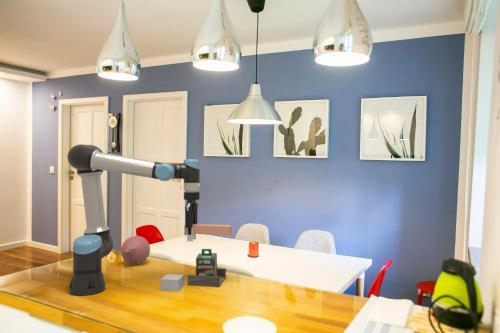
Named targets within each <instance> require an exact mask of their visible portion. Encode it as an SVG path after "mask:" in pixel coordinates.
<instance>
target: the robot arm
mask: <svg viewBox="0 0 500 333" xmlns="http://www.w3.org/2000/svg"><path fill="white" fill-rule="evenodd" d="M67 162H68V163H69V165H70V167H72V168H74V169H76V175H77V176H78V177H80V180H81V186H82V187H81V188H82V197H83V205H84V207H83V208H84V216H85V226H86V228H85V230H84V231H83V235H80V236H78V237H76V238H75V239H74V241H73V243H72V270H73V271H72V276H71V279H70V281H69V285H68V293H69V294H70V295H71V296H91V295H95V294H99V293H102V292H104V291H105V290H106V288H107V287H106V286H107V285H106V284H107V283H106V280H105V277H104V274H103V271H102V266H103V265H102V264H103V263H102V259H104V258H105V257H107V256H108V255H110V253H112V250H114V246H115V239H114V236H113V235H112V234H111V228H110V227H109V226H108V225H107V221H106V216H105V215H106V213H105V204H104V198H103V197H104V195H103V187H102V186H103V184H102V178H101V177H102V174H103V173H104V171H106V172H113V173H117V174H125V175H131V176H136V177H143V178H149V179H154V180H160V181H162V182H169V181H170V180H183V191H184V192H183V200H185V201H187V203H186V205H185V206H184V211H185V225H186V226H185V228H187V234H186V242H194V240H196V239H197V234H193V226H192V225H193V224H198V207H199V204H198V203H197V201H199V200H200V197H201V196H200V188H201V186H202V185H201V184H200V183H201V182H200V180H201V178H200V176H201V173H200V172H201V170H200V169H201V167H200V160H198V158H197V159H195V158H194V159H191V158H187V159H185V158H184V159H183V162H181V163H180V162H179V163H178V162H175V163H174V162H173V163H172V162H168V163H167V162H160V161H153V160H148V159H147V160H146V159H142V158H141V159H140V158H136V157H130V156H129V157H128V156H125V155H124V156H123V155H117V154H113V153H106V152H104V151H103V150H102V149H101V148H100V147H98V146H97V145H93V144H81V143H80V144H77V145H73V146H72V147H71V148H70V149H69V151H68V152H67Z"/></svg>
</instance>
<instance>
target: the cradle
mask: <svg viewBox="0 0 500 333" xmlns="http://www.w3.org/2000/svg"><path fill="white" fill-rule="evenodd" d="M226 278H227V268H224V267H223V268H221V267H217V276H200V275H196V274H188V275H187V286H190V287H193V286H195V287H211V288H213V287H214V288H220V287H221V285H222V284H223V283H224V281H225V280H226Z"/></svg>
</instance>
